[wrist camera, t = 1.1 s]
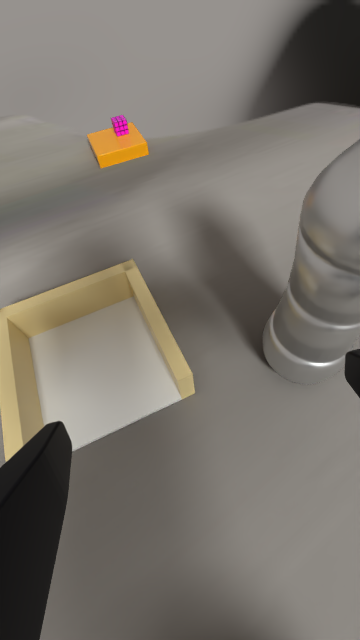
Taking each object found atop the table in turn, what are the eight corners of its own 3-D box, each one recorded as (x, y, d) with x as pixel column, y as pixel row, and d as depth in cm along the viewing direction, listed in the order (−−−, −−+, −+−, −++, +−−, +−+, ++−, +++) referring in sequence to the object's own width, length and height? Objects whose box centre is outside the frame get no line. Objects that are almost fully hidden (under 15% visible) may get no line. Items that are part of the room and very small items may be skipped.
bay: (194, 393, 24) (192, 374, 21) (36, 468, 22) (5, 460, 19) (141, 285, 31) (132, 258, 28) (16, 335, 29) (-9, 312, 26)
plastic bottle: (331, 326, 27) (529, 18, 10) (341, 398, 23) (677, 103, 6) (258, 320, 28) (331, 31, 11) (257, 388, 24) (363, 111, 8)
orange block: (149, 156, 47) (144, 127, 43) (101, 170, 46) (92, 142, 42) (135, 136, 51) (129, 108, 48) (91, 148, 50) (82, 120, 47)
